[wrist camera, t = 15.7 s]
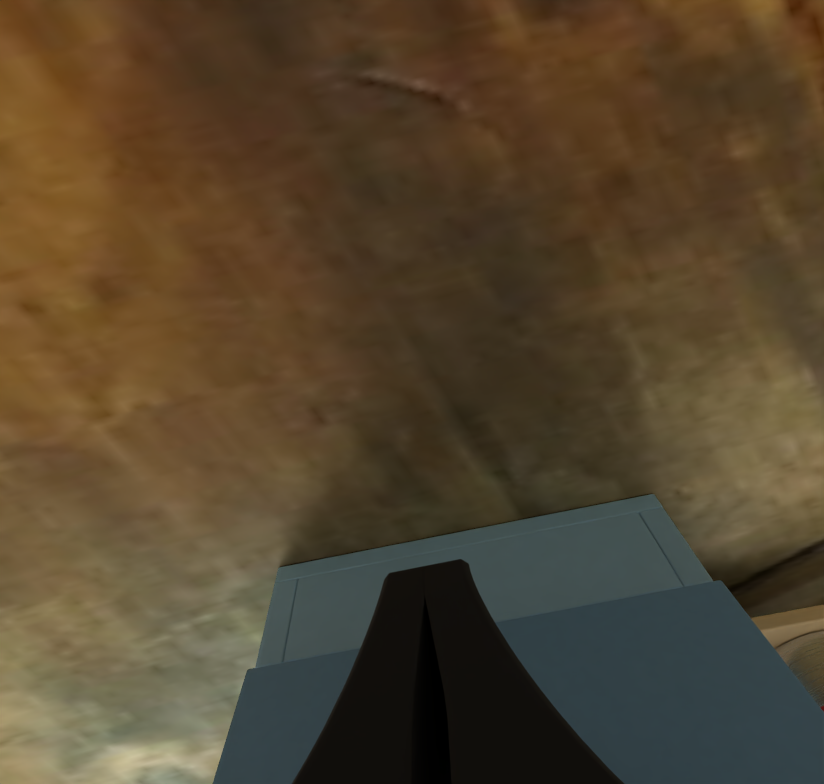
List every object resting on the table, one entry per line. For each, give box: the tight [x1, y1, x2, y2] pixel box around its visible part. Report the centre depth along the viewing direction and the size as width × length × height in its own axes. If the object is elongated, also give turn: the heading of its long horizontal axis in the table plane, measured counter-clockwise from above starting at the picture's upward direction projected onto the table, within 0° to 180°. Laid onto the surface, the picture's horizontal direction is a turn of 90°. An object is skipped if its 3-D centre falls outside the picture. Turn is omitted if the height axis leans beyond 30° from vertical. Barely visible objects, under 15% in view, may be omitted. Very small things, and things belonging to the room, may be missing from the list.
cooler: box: [256, 494, 713, 668], centre depth 22 cm, size 11×13×4 cm
